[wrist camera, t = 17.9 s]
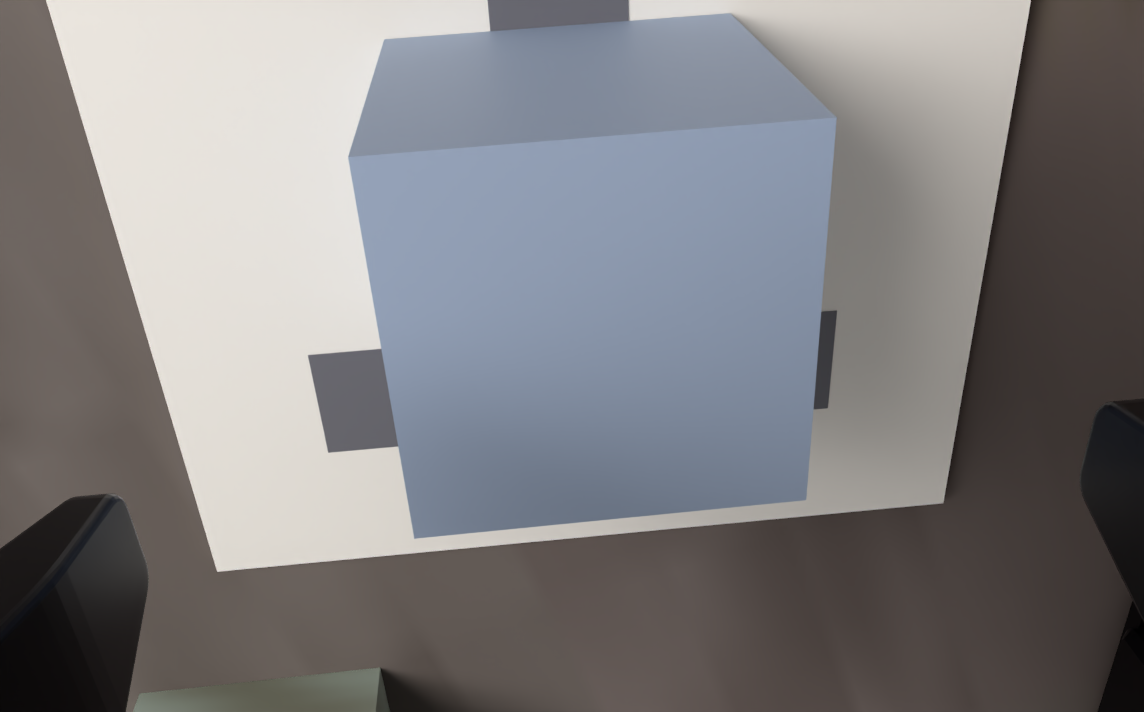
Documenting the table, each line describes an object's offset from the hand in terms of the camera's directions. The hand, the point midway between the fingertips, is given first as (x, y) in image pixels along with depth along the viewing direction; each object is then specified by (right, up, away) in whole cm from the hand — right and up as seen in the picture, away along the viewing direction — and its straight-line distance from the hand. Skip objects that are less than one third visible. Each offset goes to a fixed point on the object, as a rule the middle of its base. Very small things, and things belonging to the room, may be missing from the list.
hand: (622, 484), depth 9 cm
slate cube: (-1, +4, +6) cm, 8 cm away
